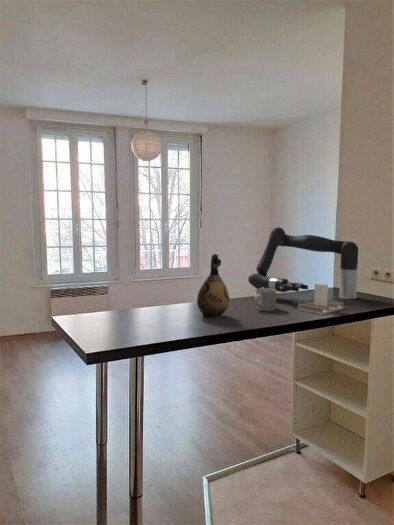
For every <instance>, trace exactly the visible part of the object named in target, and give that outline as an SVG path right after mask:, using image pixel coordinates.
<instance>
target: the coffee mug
mask: <svg viewBox="0 0 394 525" xmlns="http://www.w3.org/2000/svg"><path fill="white" fill-rule="evenodd" d="M255 289H256V291H255V293H256V294H255V295H254V298H253V304H254V305H255V309H256V310H258V311H261V312H262V311H263V312H264V311H265V312H271V311H275V310H276V298H277V297H276V296H277V291H276V290H275V289H270V288H263V287H262V288H259V289H257V288H255Z"/></svg>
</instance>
